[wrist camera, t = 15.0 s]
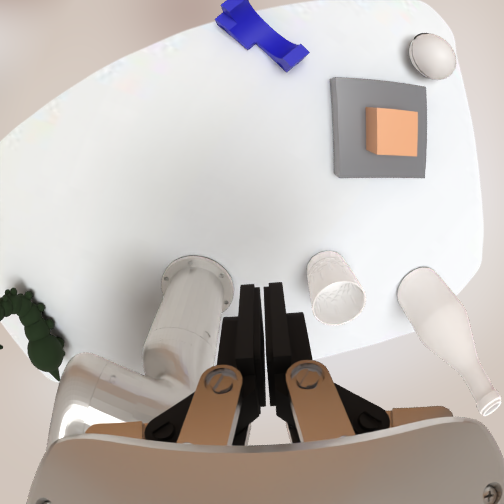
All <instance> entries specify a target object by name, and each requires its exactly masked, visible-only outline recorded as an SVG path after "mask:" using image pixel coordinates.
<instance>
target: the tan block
mask: <svg viewBox="0 0 504 504" xmlns="http://www.w3.org/2000/svg"><path fill="white" fill-rule="evenodd" d="M365 108H366V150H368V151H370V152H372V153H374V154H377V155H398V156H416V157H417V141H418V112H414V111H406V110H397V109H387V108H374V107H365Z"/></svg>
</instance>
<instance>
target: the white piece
mask: <svg viewBox="0 0 504 504" xmlns="http://www.w3.org/2000/svg"><path fill="white" fill-rule="evenodd" d="M409 55H410V59H411V62H412V64H413V65H414V67H415V68H416V69H417V70H418V71H419V72H420V73H421V74H422V75H424V76H425V77H427V78H431V79H435V80H441V79H445V78H447V77H449V76H450V75H451V74H452V73H453V71H454V69H455V67H456V56H455V53H454V51H453V49H452V47H451V46H450V44H449V43H448V42H447V41H446V40H444V39H443V38H441V37H439V36H437V35H434V34H429V33H421V34H418V35H417V36H416V37H415V38H414V40H413V41H412V42H411V45H410V49H409Z"/></svg>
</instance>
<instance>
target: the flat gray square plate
mask: <svg viewBox="0 0 504 504" xmlns="http://www.w3.org/2000/svg"><path fill="white" fill-rule="evenodd" d="M330 85H331V99H332V117H333V143H334V174H335V175H337V176H338V177H339V178H425V167H426V147H427V100H426V87H424V86H418V85H411V84H405V83H398V82H390V81H381V80H371V79H358V78H341V77H335V78H332V79H330ZM365 107H374V108H387V109H397V110H406V111H414V112H418V141H417V157H416V156H398V155H377V154H374V153H372V152H370V151H368V150H366V108H365Z"/></svg>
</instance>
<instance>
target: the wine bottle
mask: <svg viewBox="0 0 504 504" xmlns="http://www.w3.org/2000/svg"><path fill="white" fill-rule="evenodd" d="M397 297H398V302H399V304H400V306H401V307H402V309H403V311H404V312H405V314H406V316H407V317H408V319H409V321H410V323H411V324H412V326H413V328H414V330H415V331H416V333H417V335H418V337H419V339H420V340H421V342H422V343H423V344H424V345H425V346H426V347H427V348H428V349H429V350H430V351H432V352H433V353H435V354H436V355H437V356H439V357H440V358H441V359H442V360H444V361H445V362H446V363H447V364H449V365H450V366H451V367H453V368H454V369H455V370H456V371H457V372H458V373H459V374H460V375H461V376H462V377H463V379H464V381H465V383H466V384H467V386H468V388H469V390H470V392H471V394H472V395H473V397H474V399H475V401H476V403H477V405H476V407H477V409H478V411H479V413H480V414H482V415H483V416H487V415H489V414H491V413H492V412H493V411H495V410H496V409H497V408H498V407H499V405H500V404H501V400H500V399H501V397H500V395H499V393H498V391H497V390H495V389H494V387H493V385H492V383H491V381H490V380H489V378H488V376H487V374H486V372H485V371H484V369H483V367H482V365H481V363H480V361H479V358H478V356H477V352H476V347H475V342H474V338H473V334H472V330H471V326H470V322H469V318H468V315H467V312H466V309H465V307H464V305H463V304H462V303H461V302H460V300H459V299H458V298H457V297H456V295H455V294H454V293H453V292H452V291H451V289H450V288H449V287H448V286H447V284H446V283H445V282H444V281H443V280H442V279H441V277H440V276H439V275H438V274H437V273H436V272H435V271H434V270H432V269H430V268H424V267H423V268H418V269H415V270H413V271H412V272H410V273H409V274H408V275H407V276H406V277H405V278H404V279H403V280H402V282H401V284H400V286H399V288H398V293H397Z"/></svg>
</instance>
